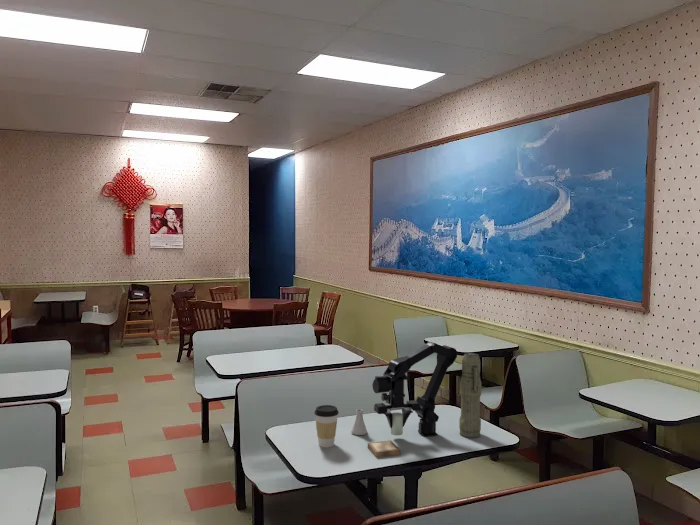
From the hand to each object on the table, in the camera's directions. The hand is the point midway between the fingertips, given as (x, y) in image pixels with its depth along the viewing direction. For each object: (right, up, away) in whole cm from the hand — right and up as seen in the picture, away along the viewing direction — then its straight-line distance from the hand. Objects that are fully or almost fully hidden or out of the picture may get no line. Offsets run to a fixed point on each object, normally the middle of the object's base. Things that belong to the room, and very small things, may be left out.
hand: (396, 427), depth 236 cm
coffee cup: (-29, -5, -7) cm, 30 cm away
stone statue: (+32, -5, +6) cm, 33 cm away
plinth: (-6, -6, -13) cm, 16 cm away
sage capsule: (0, -3, 0) cm, 3 cm away
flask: (-16, -5, +7) cm, 18 cm away
